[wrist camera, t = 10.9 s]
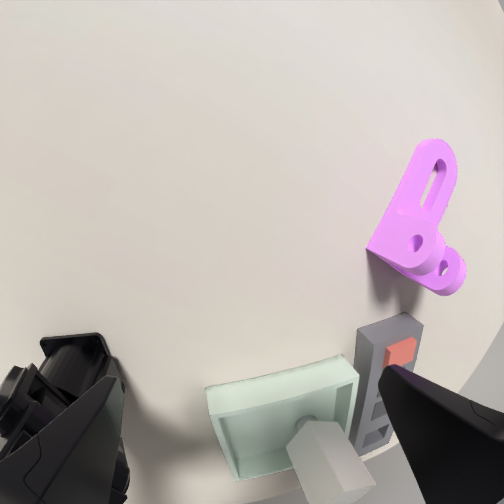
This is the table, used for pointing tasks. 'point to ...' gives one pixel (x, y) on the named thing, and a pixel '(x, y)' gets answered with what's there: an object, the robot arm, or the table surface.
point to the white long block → (327, 463)
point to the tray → (278, 412)
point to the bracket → (421, 222)
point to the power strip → (370, 369)
